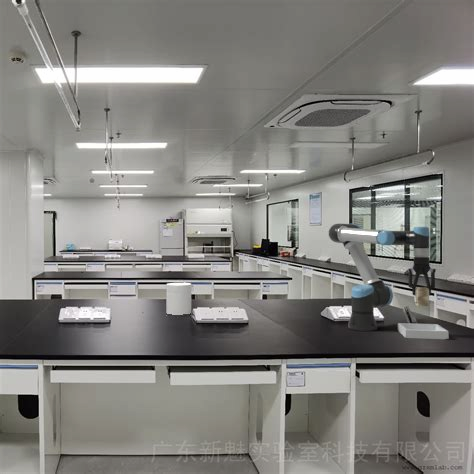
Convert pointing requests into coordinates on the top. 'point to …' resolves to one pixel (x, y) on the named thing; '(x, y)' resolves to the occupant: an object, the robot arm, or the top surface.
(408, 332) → the tray
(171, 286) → the canister
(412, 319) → the hinge
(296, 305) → the top surface
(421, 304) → the tan cylinder
